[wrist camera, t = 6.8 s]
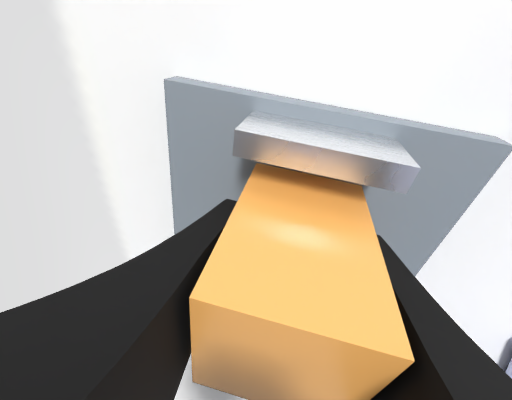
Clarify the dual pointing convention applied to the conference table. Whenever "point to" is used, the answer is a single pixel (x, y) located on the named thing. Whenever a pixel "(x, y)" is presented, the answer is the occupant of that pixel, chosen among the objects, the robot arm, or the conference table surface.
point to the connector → (297, 296)
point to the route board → (378, 200)
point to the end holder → (325, 151)
